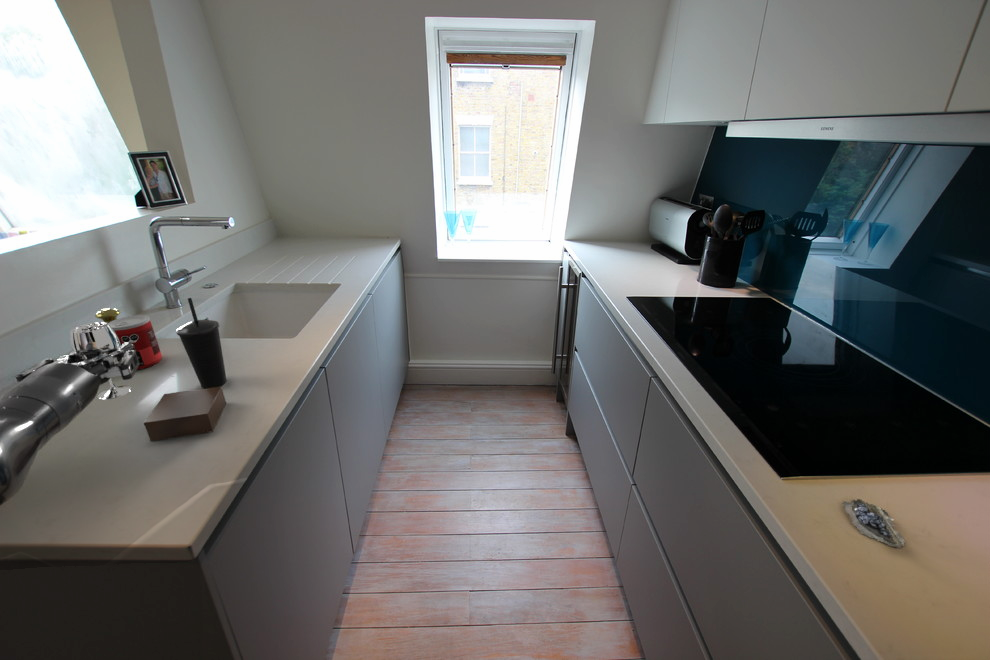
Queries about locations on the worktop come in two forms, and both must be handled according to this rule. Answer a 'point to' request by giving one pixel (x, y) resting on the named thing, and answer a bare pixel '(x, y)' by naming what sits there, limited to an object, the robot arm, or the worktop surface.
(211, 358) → the drinking cup
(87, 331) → the wineglass
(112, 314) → the brass candlestick
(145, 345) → the canned food
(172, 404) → the walnut block
